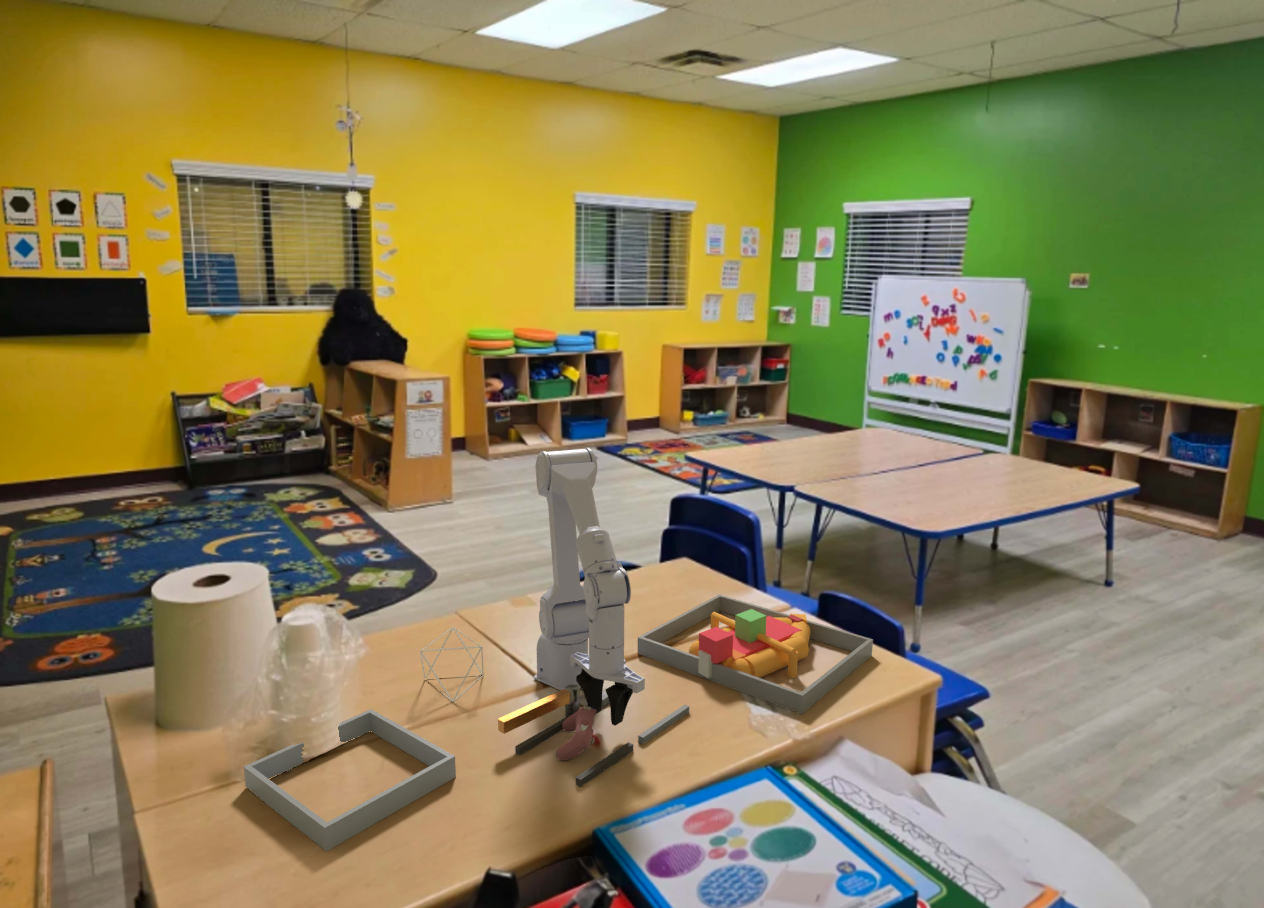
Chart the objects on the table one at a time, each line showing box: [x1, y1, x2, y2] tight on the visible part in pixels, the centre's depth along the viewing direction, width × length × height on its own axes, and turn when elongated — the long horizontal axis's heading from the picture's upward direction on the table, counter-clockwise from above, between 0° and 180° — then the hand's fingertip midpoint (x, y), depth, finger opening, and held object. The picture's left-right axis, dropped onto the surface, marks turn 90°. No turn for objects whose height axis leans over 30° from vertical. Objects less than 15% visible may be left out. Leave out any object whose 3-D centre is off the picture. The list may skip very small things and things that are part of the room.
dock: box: [514, 692, 690, 788], centre depth 140 cm, size 14×28×1 cm, turn 141°
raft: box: [688, 609, 811, 679], centre depth 167 cm, size 23×30×9 cm
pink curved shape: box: [556, 704, 597, 761], centre depth 135 cm, size 10×5×7 cm, turn 178°
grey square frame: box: [243, 708, 457, 852], centre depth 125 cm, size 22×22×4 cm
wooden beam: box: [497, 684, 580, 735], centre depth 139 cm, size 16×2×5 cm, turn 136°
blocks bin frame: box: [637, 594, 874, 715], centre depth 168 cm, size 37×30×4 cm
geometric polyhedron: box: [419, 626, 485, 703], centre depth 154 cm, size 12×11×9 cm
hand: (606, 717), depth 139 cm, fingers open, 4 cm apart
